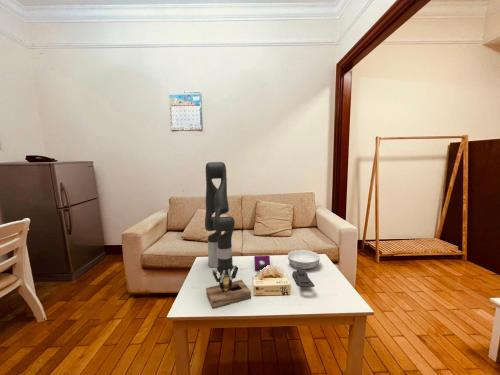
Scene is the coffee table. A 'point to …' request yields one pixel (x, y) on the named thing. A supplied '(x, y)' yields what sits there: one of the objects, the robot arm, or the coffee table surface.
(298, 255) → the serving bowl
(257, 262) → the purple tall block
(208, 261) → the robot arm
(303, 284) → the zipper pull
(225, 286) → the peg
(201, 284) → the coffee table surface
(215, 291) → the keyhole board
